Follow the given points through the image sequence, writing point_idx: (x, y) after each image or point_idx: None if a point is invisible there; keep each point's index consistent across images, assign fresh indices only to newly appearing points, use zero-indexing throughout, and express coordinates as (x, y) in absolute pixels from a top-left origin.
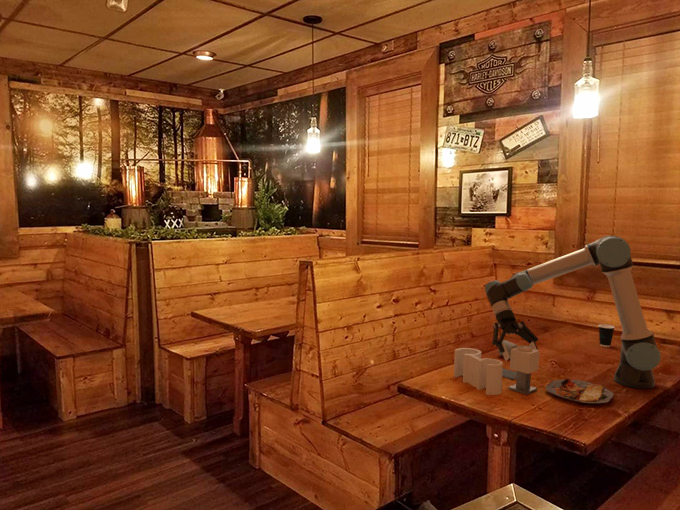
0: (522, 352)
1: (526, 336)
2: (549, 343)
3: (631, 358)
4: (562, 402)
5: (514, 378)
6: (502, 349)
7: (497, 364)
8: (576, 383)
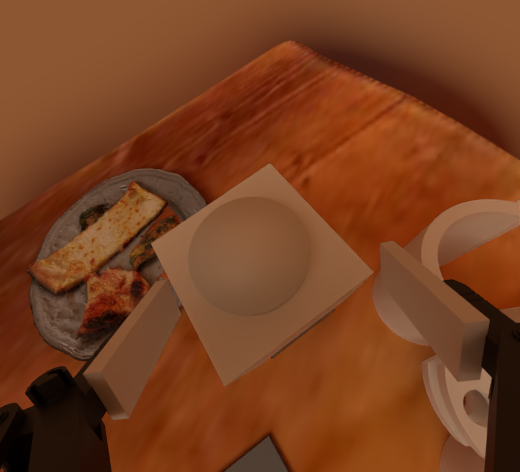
0: (302, 197)
1: (81, 460)
2: None
3: None
4: (213, 199)
5: (255, 446)
6: (455, 289)
7: (467, 211)
8: (70, 326)
